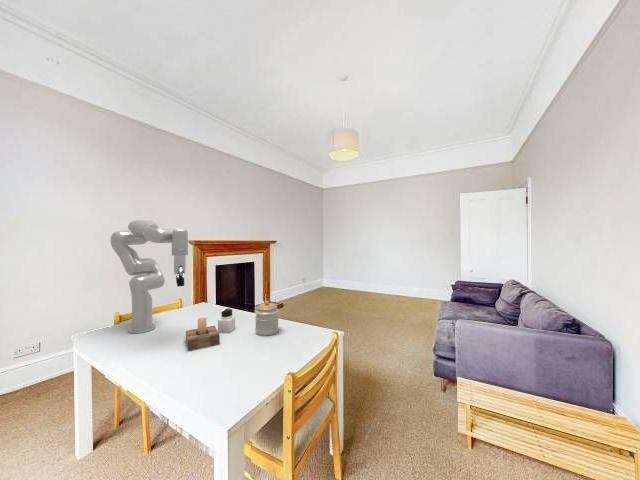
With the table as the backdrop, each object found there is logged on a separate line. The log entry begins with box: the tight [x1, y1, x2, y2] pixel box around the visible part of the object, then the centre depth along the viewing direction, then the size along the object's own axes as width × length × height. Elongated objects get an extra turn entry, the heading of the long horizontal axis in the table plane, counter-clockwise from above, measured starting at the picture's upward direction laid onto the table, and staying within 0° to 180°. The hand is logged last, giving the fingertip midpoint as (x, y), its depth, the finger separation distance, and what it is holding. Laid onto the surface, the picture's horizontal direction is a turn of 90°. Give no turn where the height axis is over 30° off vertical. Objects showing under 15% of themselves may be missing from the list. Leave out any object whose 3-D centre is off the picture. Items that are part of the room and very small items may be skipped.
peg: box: [197, 317, 207, 335], centre depth 126 cm, size 4×4×12 cm
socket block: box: [185, 325, 221, 352], centre depth 126 cm, size 14×14×5 cm
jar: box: [254, 300, 280, 337], centre depth 140 cm, size 13×13×18 cm
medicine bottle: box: [217, 308, 236, 334], centre depth 142 cm, size 7×7×12 cm
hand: (180, 284), depth 132 cm, fingers open, 9 cm apart
